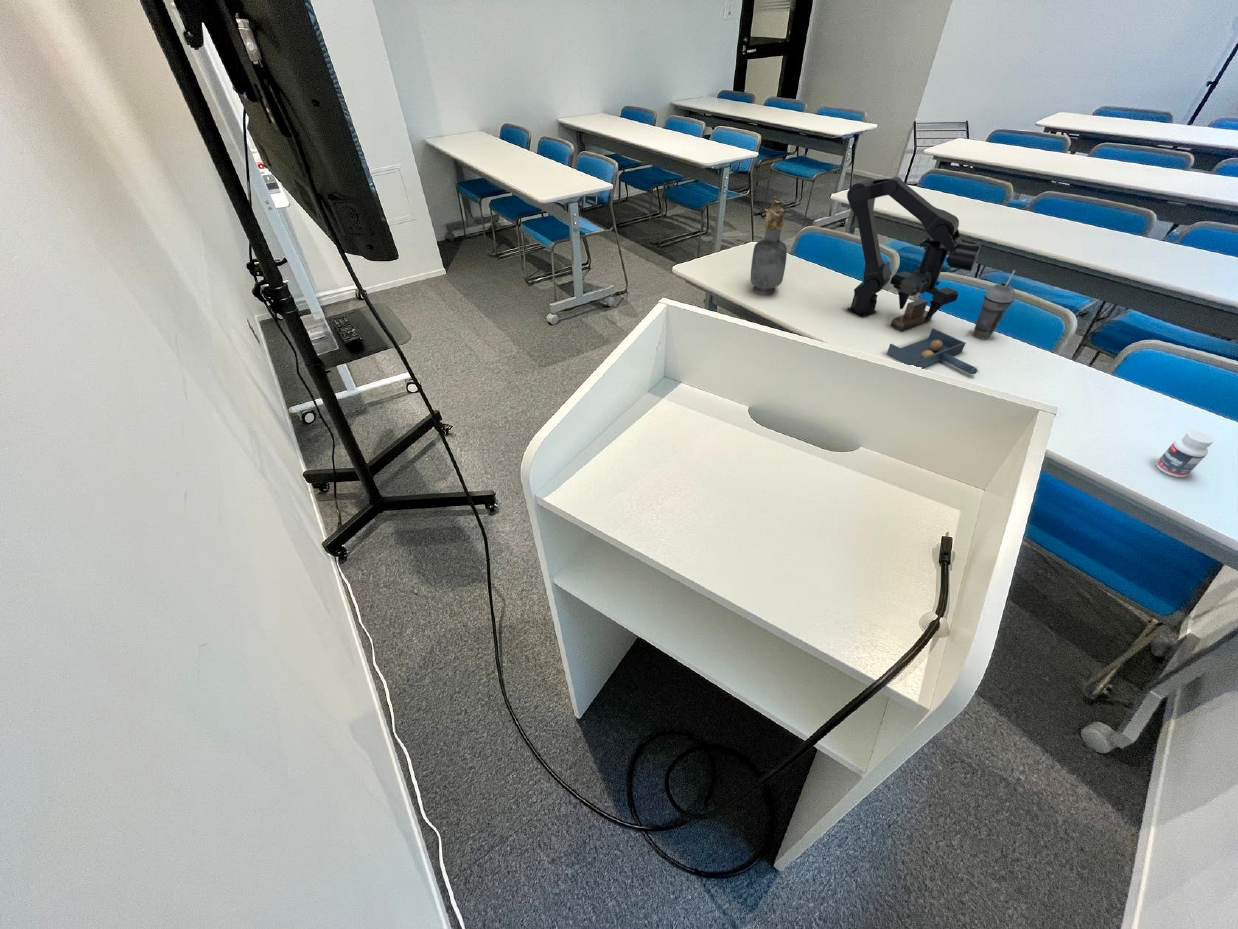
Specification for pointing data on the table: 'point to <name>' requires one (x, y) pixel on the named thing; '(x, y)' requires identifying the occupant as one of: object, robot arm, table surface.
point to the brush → (911, 316)
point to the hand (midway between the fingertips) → (913, 314)
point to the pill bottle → (1185, 454)
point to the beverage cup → (994, 308)
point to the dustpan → (946, 353)
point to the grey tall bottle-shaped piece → (770, 252)
